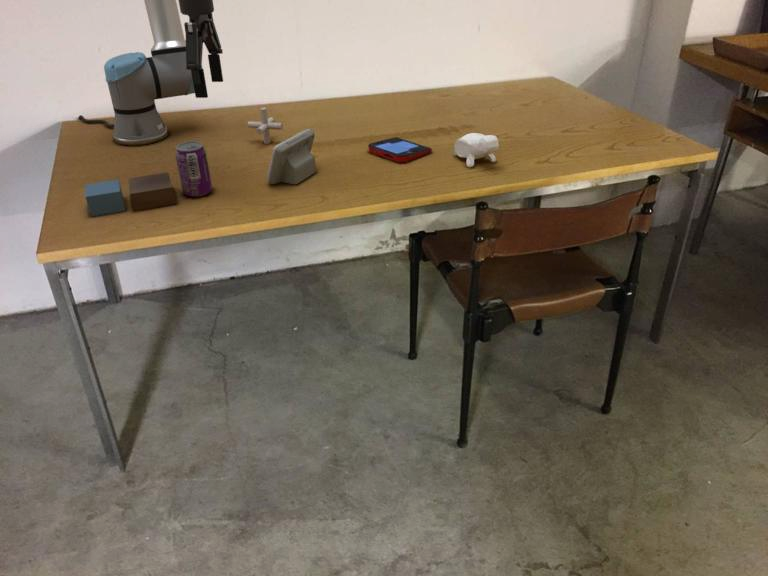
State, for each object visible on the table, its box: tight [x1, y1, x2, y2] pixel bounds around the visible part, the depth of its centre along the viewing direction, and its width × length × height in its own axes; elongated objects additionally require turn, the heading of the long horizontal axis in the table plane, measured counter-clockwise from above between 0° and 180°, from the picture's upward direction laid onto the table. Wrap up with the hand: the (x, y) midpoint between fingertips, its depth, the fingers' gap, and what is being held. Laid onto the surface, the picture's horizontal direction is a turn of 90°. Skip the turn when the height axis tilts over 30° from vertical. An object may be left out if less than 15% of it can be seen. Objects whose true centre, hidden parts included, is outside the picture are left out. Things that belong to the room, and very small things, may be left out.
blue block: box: [84, 178, 126, 217], centre depth 149 cm, size 8×8×5 cm
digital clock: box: [266, 128, 317, 186], centre depth 161 cm, size 16×9×11 cm, turn 140°
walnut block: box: [127, 171, 177, 212], centre depth 152 cm, size 10×10×4 cm
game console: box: [367, 136, 433, 163], centre depth 177 cm, size 14×13×2 cm
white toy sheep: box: [453, 132, 500, 168], centre depth 169 cm, size 9×8×15 cm
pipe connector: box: [247, 107, 284, 145], centre depth 183 cm, size 10×10×10 cm
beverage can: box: [174, 140, 213, 198], centre depth 153 cm, size 7×7×12 cm
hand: (210, 89), depth 155 cm, fingers open, 13 cm apart
